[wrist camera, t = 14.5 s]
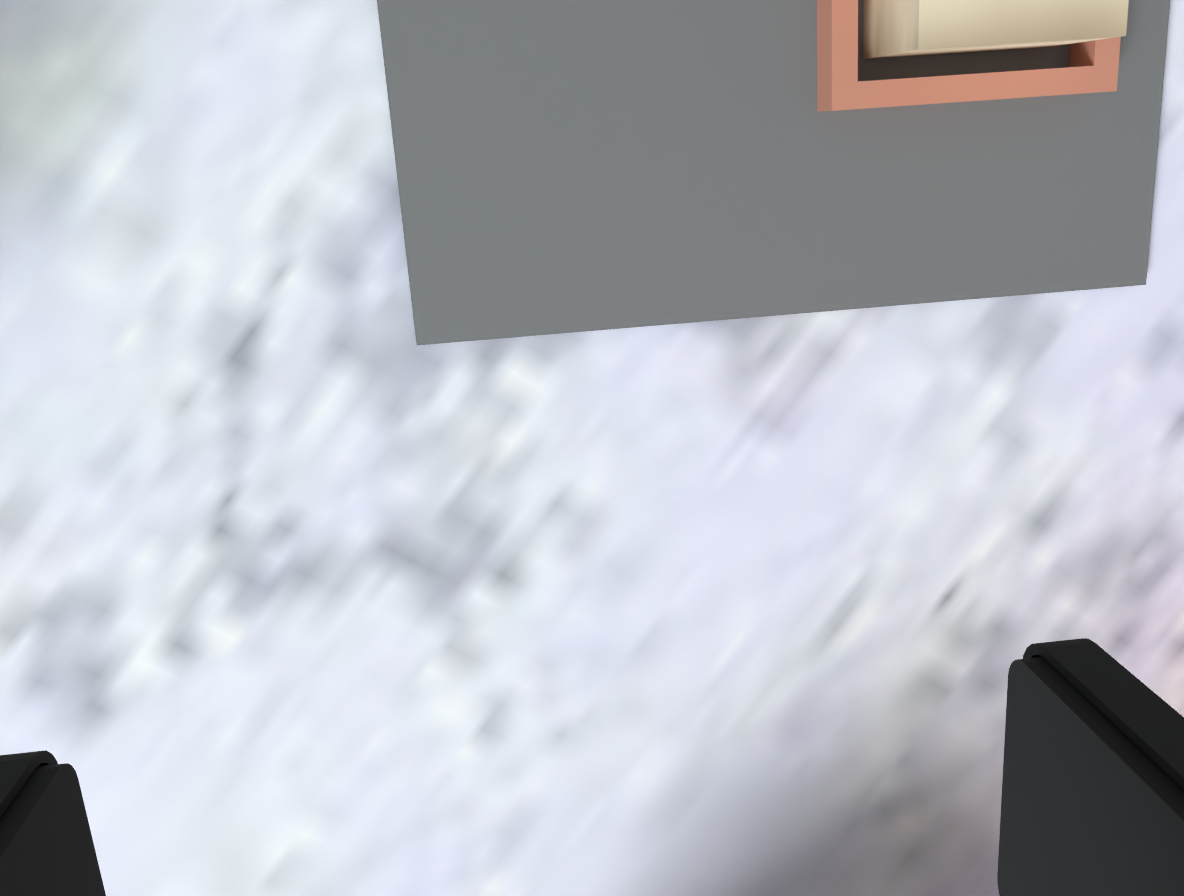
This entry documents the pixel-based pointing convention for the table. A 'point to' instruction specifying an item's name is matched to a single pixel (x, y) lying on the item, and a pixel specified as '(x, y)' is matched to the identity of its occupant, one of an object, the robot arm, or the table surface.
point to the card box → (985, 25)
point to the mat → (751, 163)
